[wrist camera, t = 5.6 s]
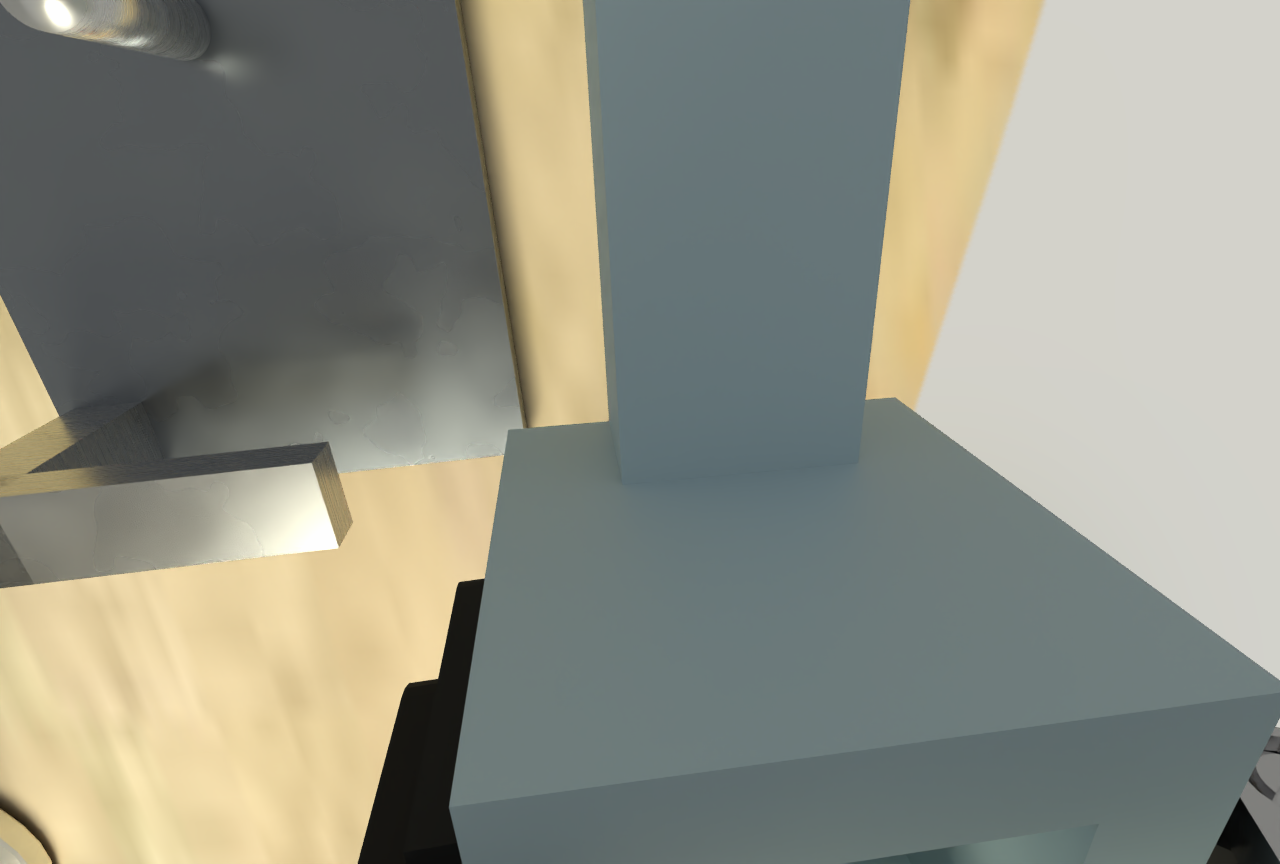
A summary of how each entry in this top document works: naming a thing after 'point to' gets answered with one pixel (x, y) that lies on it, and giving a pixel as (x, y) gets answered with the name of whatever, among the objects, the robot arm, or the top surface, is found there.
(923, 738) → the link
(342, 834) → the top surface
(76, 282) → the base
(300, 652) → the top surface
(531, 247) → the top surface
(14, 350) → the top surface
